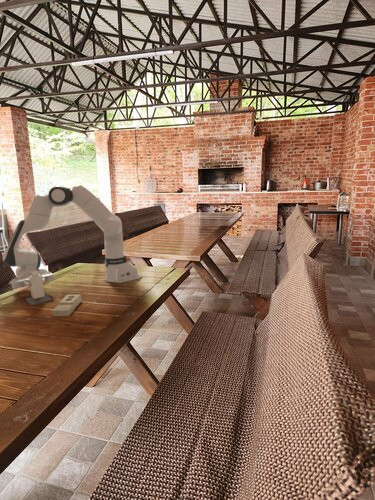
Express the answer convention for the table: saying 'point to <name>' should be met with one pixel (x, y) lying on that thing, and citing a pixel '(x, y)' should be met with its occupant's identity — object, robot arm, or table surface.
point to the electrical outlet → (67, 305)
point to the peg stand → (38, 300)
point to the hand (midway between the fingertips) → (36, 283)
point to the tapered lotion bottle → (36, 285)
